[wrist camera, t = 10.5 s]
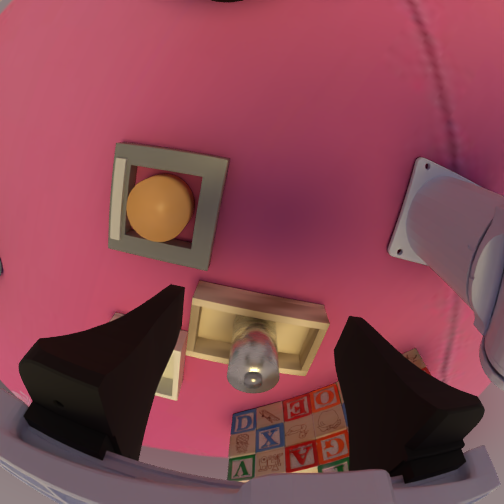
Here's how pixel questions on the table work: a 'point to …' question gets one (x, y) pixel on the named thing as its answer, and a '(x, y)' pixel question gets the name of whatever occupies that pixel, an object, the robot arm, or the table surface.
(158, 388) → the white square tray
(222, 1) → the coffee mug
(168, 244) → the grey square frame
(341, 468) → the stack of blocks
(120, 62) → the table surface
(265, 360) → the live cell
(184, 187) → the button
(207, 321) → the trough
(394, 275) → the table surface
